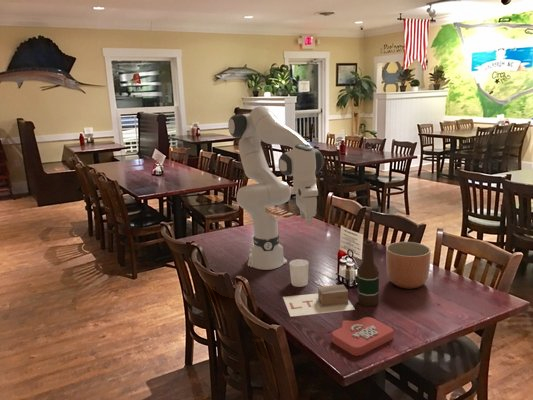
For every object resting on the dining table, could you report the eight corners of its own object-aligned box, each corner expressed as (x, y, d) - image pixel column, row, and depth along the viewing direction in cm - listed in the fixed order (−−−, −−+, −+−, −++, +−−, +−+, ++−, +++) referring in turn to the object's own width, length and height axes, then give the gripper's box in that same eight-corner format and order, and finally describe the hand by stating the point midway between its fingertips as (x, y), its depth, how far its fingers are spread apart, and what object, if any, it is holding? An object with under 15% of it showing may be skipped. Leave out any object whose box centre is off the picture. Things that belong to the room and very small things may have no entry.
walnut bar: (318, 299, 174) (318, 287, 173) (343, 296, 175) (343, 284, 174) (322, 306, 168) (322, 293, 167) (348, 303, 169) (348, 291, 168)
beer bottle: (353, 300, 173) (353, 240, 168) (370, 295, 176) (370, 237, 171) (365, 308, 166) (365, 247, 161) (382, 304, 169) (383, 243, 164)
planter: (384, 274, 195) (385, 241, 192) (426, 276, 192) (427, 242, 188) (386, 291, 179) (387, 255, 175) (432, 293, 176) (433, 257, 172)
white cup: (286, 285, 189) (285, 263, 186) (298, 279, 194) (297, 257, 192) (301, 290, 184) (300, 267, 181) (312, 284, 189) (312, 261, 187)
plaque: (362, 311, 158) (396, 328, 146) (362, 321, 159) (395, 338, 147) (323, 327, 148) (356, 347, 136) (323, 338, 149) (356, 358, 137)
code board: (282, 298, 177) (282, 296, 177) (342, 292, 180) (342, 290, 180) (290, 318, 162) (290, 316, 162) (355, 311, 165) (355, 309, 165)
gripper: (291, 182, 183) (292, 215, 186) (302, 193, 163) (303, 230, 166) (306, 181, 183) (307, 214, 187) (319, 192, 164) (320, 228, 167)
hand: (305, 221), depth 176 cm, fingers open, 8 cm apart
